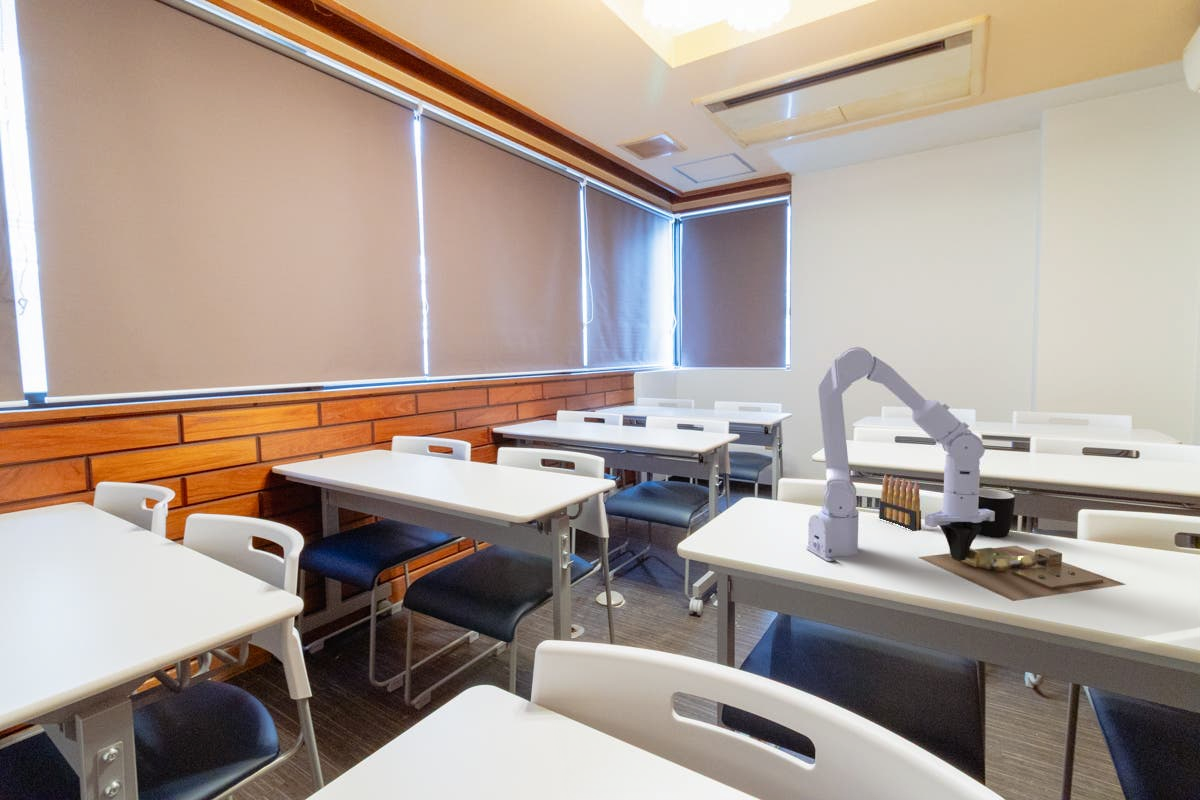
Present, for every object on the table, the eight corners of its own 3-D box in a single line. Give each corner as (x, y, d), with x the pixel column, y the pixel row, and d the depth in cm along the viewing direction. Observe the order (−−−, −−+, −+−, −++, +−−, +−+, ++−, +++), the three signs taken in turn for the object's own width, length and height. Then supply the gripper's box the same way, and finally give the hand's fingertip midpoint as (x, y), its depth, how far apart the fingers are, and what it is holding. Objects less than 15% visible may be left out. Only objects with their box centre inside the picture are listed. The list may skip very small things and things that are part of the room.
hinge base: (1046, 561, 105) (1047, 548, 105) (1103, 582, 96) (1104, 567, 95) (997, 568, 103) (997, 554, 102) (1050, 590, 93) (1051, 574, 93)
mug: (983, 527, 128) (985, 486, 127) (1022, 539, 120) (1024, 495, 119) (945, 533, 125) (947, 491, 124) (983, 546, 116) (985, 501, 115)
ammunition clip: (921, 531, 127) (923, 482, 126) (915, 532, 126) (917, 483, 125) (884, 518, 137) (885, 473, 136) (878, 519, 136) (879, 473, 135)
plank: (1012, 605, 90) (1013, 600, 89) (917, 560, 109) (918, 557, 109) (1125, 588, 95) (1125, 584, 95) (1015, 549, 114) (1016, 545, 114)
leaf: (1006, 548, 112) (1006, 534, 112) (1054, 565, 103) (1055, 550, 102) (947, 555, 109) (948, 541, 109) (992, 574, 99) (992, 558, 99)
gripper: (947, 499, 98) (944, 570, 99) (1010, 493, 101) (1007, 562, 103) (917, 490, 105) (915, 556, 106) (977, 484, 108) (974, 549, 109)
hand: (958, 558), depth 105 cm, fingers closed
